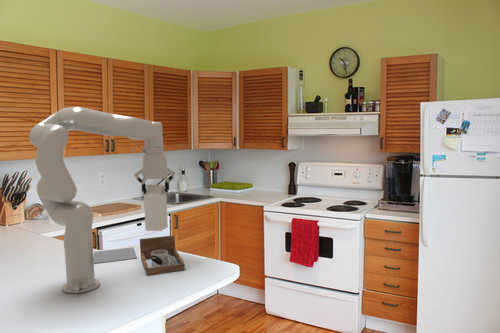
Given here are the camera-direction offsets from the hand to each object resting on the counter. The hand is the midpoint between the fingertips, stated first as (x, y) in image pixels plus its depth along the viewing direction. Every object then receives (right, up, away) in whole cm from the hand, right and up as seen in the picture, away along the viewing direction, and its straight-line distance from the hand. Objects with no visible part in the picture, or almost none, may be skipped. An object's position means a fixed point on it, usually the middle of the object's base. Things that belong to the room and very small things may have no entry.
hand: (155, 192), depth 184 cm
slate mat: (-21, -29, +13) cm, 39 cm away
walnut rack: (+3, -30, -1) cm, 30 cm away
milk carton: (0, -16, +1) cm, 16 cm away
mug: (+5, -31, -6) cm, 32 cm away
